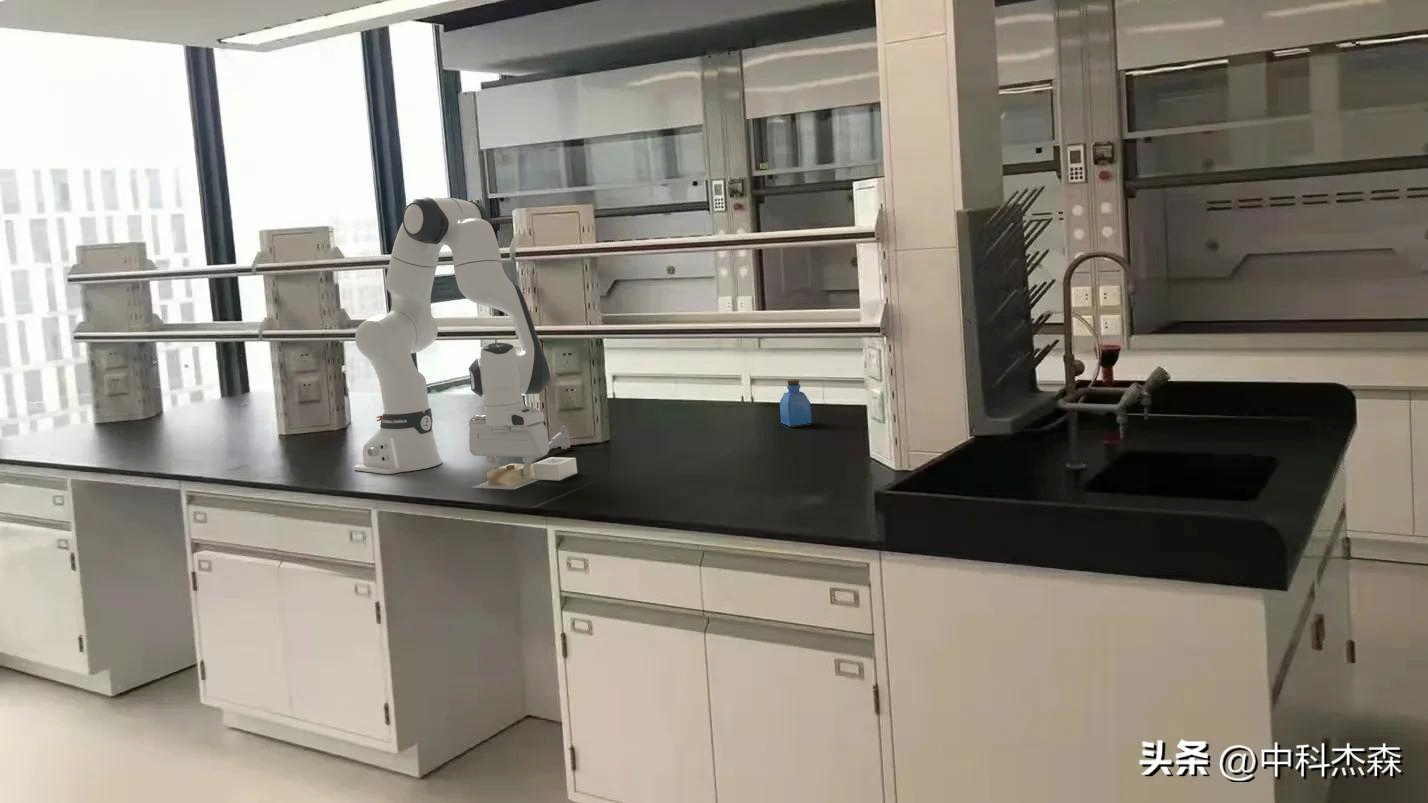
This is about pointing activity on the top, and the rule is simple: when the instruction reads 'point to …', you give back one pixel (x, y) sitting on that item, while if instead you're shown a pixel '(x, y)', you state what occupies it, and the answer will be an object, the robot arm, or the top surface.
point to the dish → (555, 468)
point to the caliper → (559, 440)
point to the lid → (508, 475)
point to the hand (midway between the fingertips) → (511, 475)
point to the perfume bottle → (795, 405)
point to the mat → (485, 485)
